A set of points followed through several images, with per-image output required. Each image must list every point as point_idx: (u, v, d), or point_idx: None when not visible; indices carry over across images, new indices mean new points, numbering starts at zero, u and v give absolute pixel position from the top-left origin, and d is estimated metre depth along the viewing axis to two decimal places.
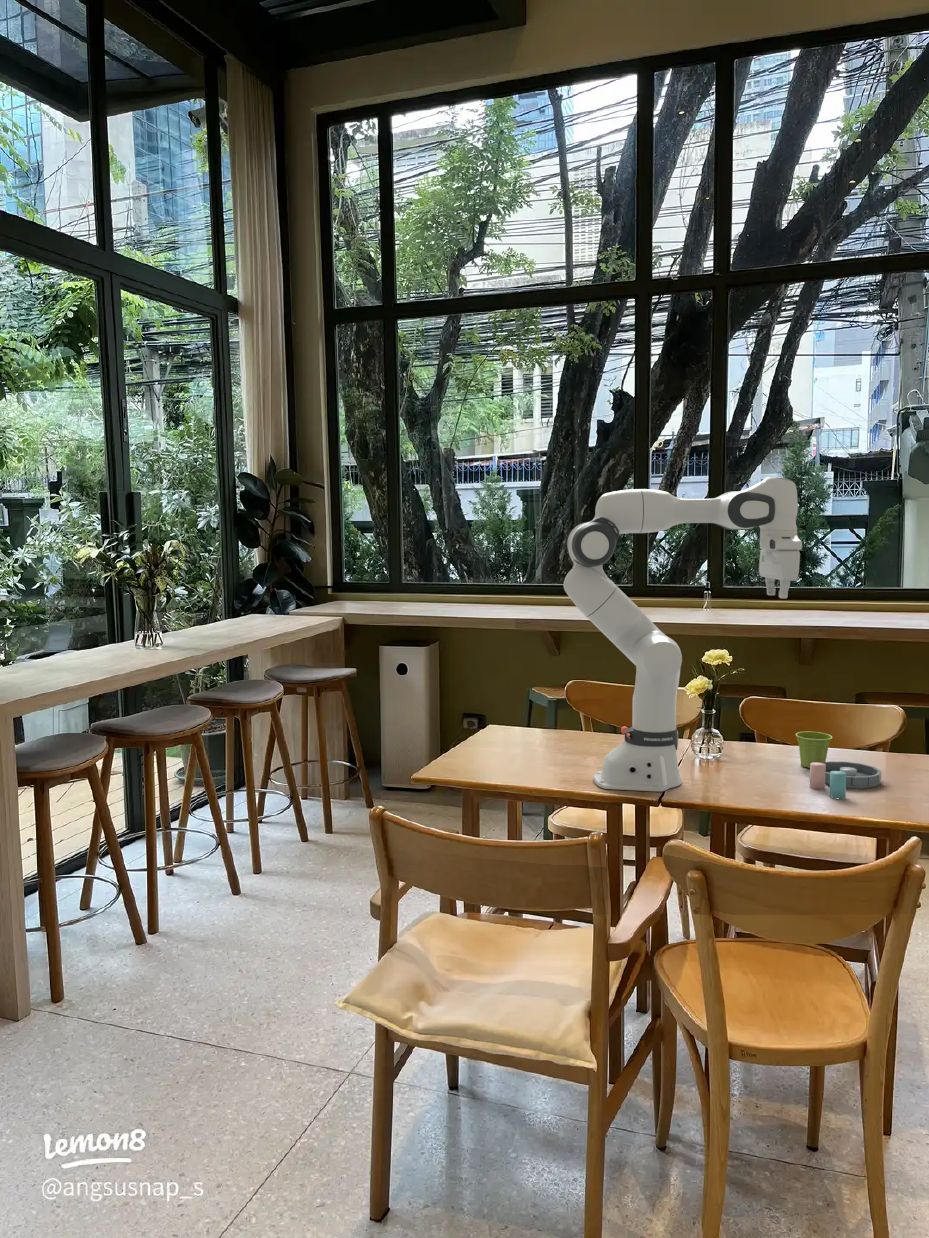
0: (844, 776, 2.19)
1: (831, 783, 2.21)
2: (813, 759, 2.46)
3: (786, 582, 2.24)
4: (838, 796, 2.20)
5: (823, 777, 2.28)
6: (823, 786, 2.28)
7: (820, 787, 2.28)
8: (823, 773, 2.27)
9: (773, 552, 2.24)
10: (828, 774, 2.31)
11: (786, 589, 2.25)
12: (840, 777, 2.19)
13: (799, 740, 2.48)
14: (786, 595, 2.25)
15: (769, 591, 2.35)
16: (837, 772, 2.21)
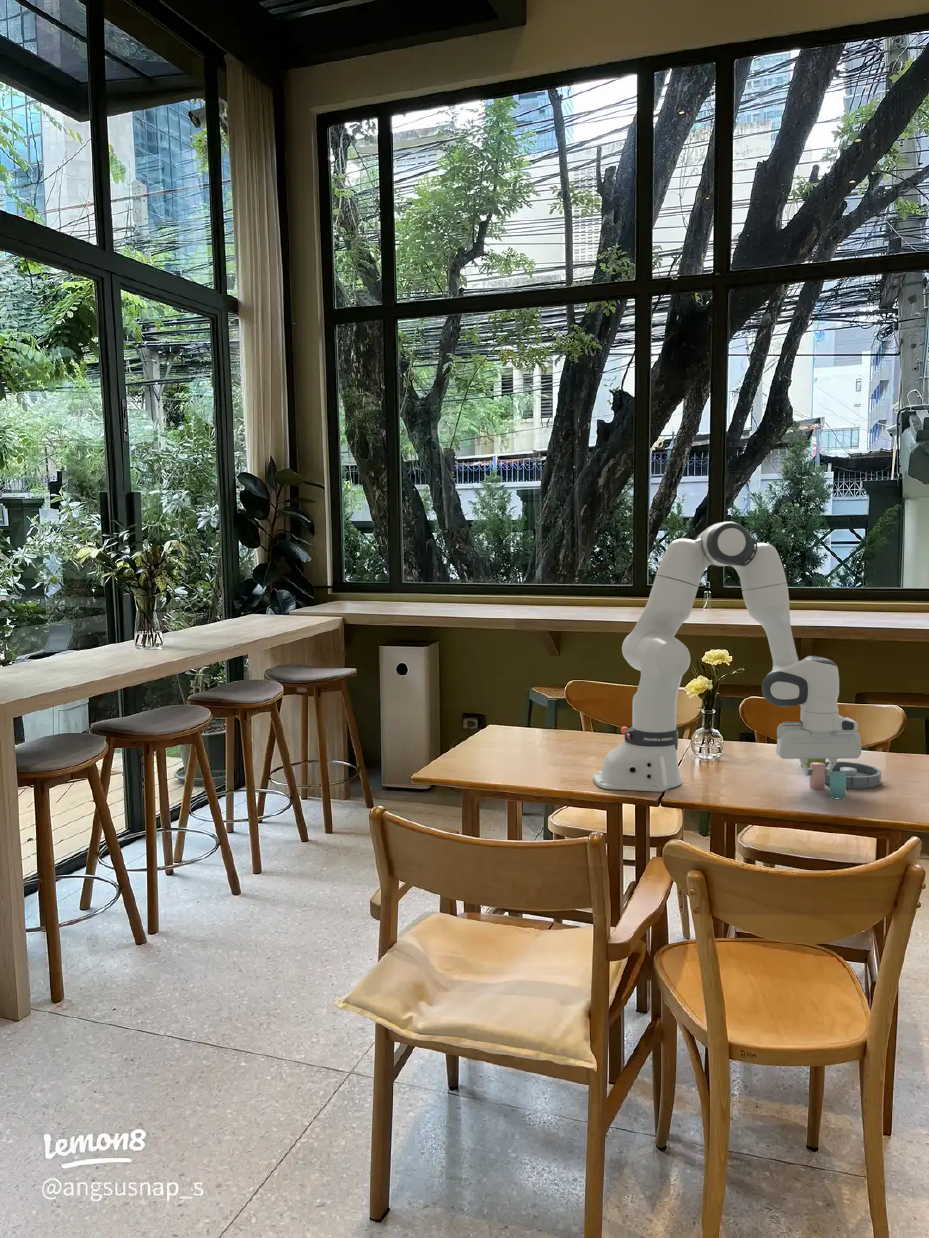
0: (844, 776, 2.19)
1: (831, 783, 2.21)
2: (813, 759, 2.46)
3: None
4: (838, 796, 2.20)
5: (823, 777, 2.28)
6: (823, 786, 2.28)
7: (820, 787, 2.28)
8: (823, 773, 2.27)
9: (844, 733, 2.25)
10: None
11: None
12: (840, 777, 2.19)
13: None
14: None
15: None
16: (837, 772, 2.21)
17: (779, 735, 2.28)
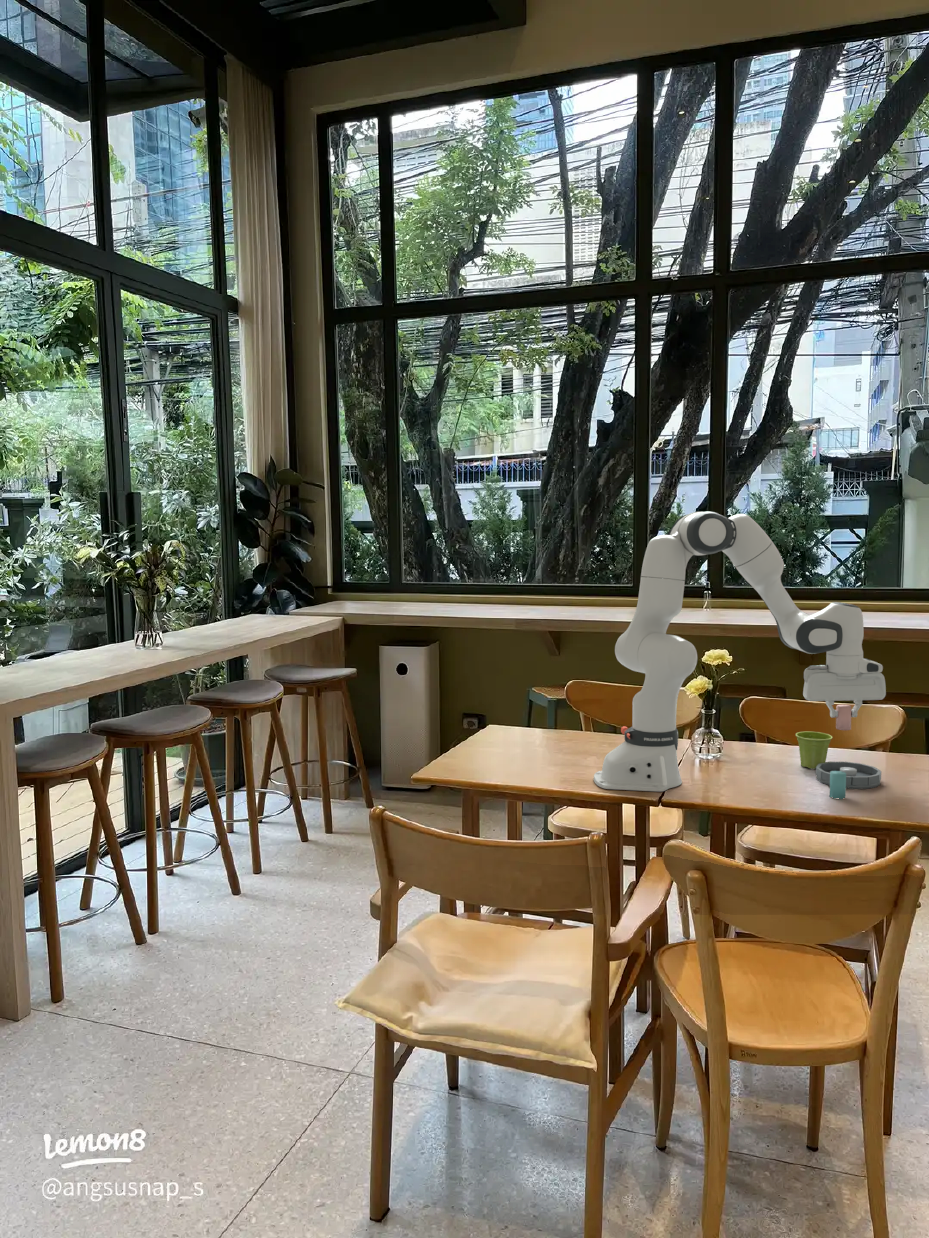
0: (844, 776, 2.19)
1: (831, 783, 2.21)
2: (813, 759, 2.46)
3: None
4: (838, 796, 2.20)
5: (849, 718, 2.36)
6: (849, 727, 2.36)
7: (846, 728, 2.36)
8: (849, 714, 2.36)
9: (869, 675, 2.33)
10: (828, 774, 2.31)
11: None
12: (840, 777, 2.19)
13: (799, 740, 2.48)
14: None
15: None
16: (837, 772, 2.21)
17: (806, 678, 2.36)
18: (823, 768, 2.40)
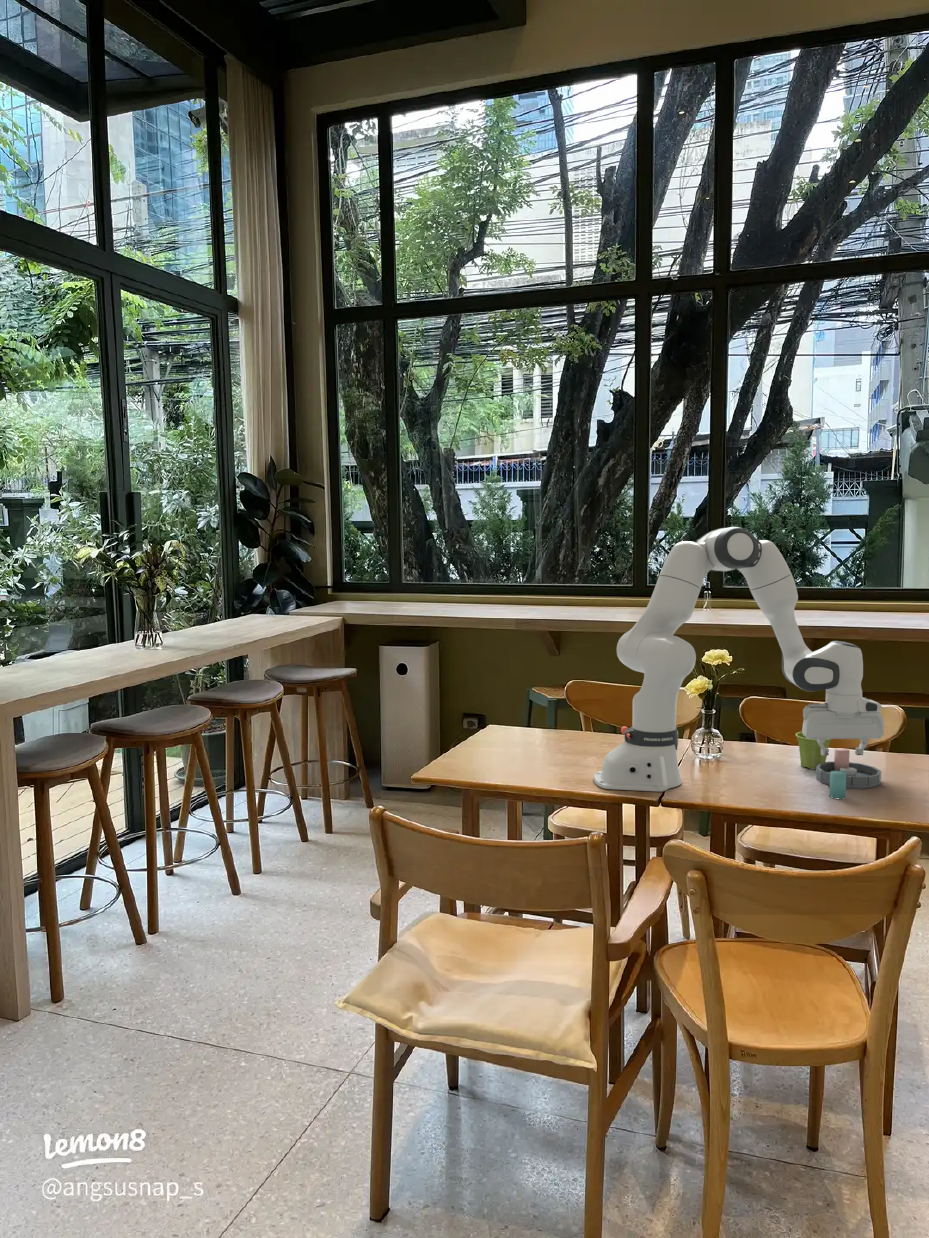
0: (844, 776, 2.19)
1: (831, 783, 2.21)
2: (813, 759, 2.46)
3: None
4: (838, 796, 2.20)
5: (847, 762, 2.38)
6: None
7: None
8: (847, 758, 2.37)
9: (867, 714, 2.35)
10: (828, 774, 2.31)
11: None
12: (840, 777, 2.19)
13: (799, 740, 2.48)
14: None
15: None
16: (837, 772, 2.21)
17: (805, 716, 2.38)
18: (823, 768, 2.40)
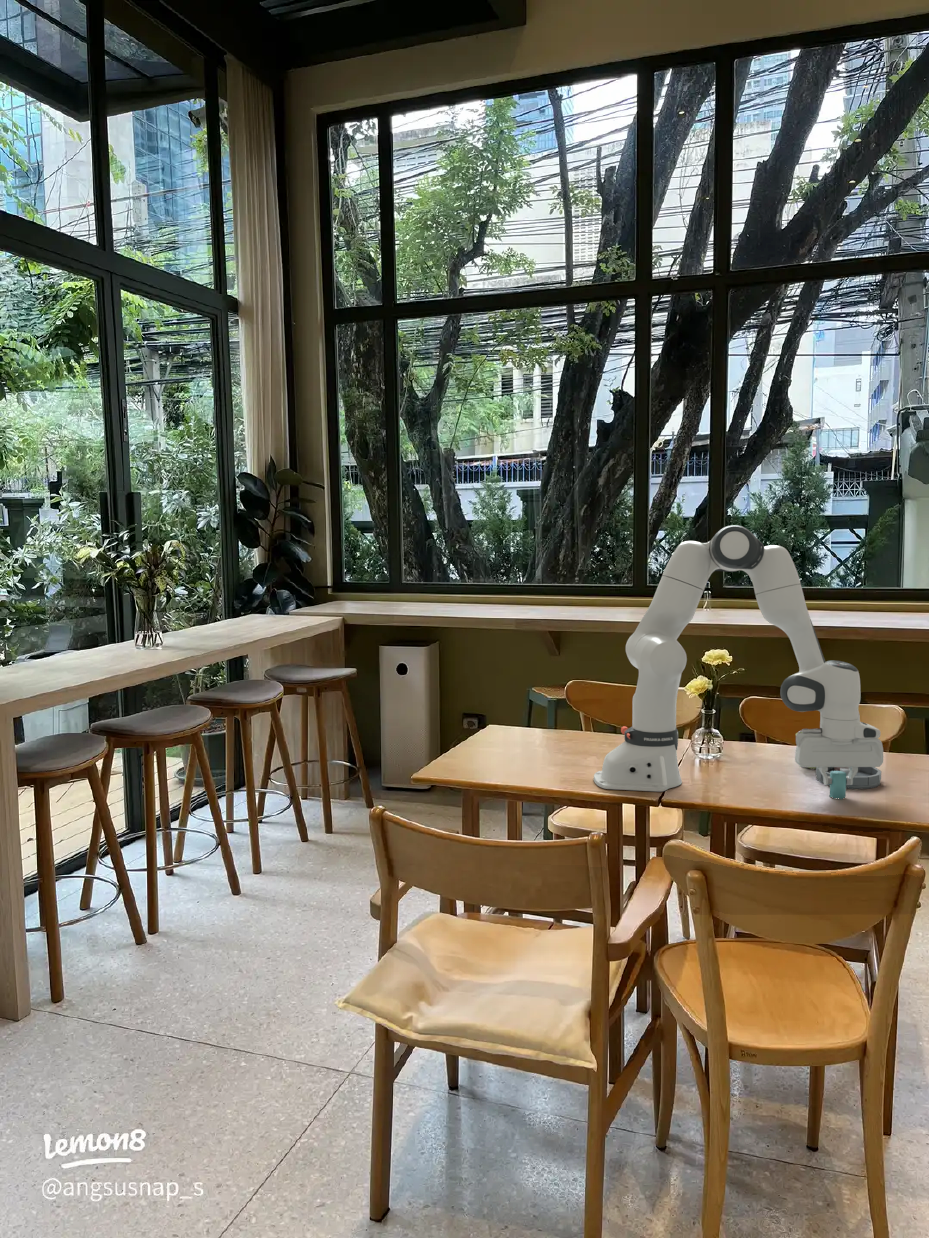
0: (844, 776, 2.19)
1: None
2: None
3: None
4: (838, 796, 2.20)
5: None
6: None
7: None
8: None
9: (865, 740, 2.17)
10: (828, 774, 2.31)
11: None
12: (840, 777, 2.19)
13: None
14: None
15: None
16: (837, 772, 2.21)
17: (798, 743, 2.20)
18: None
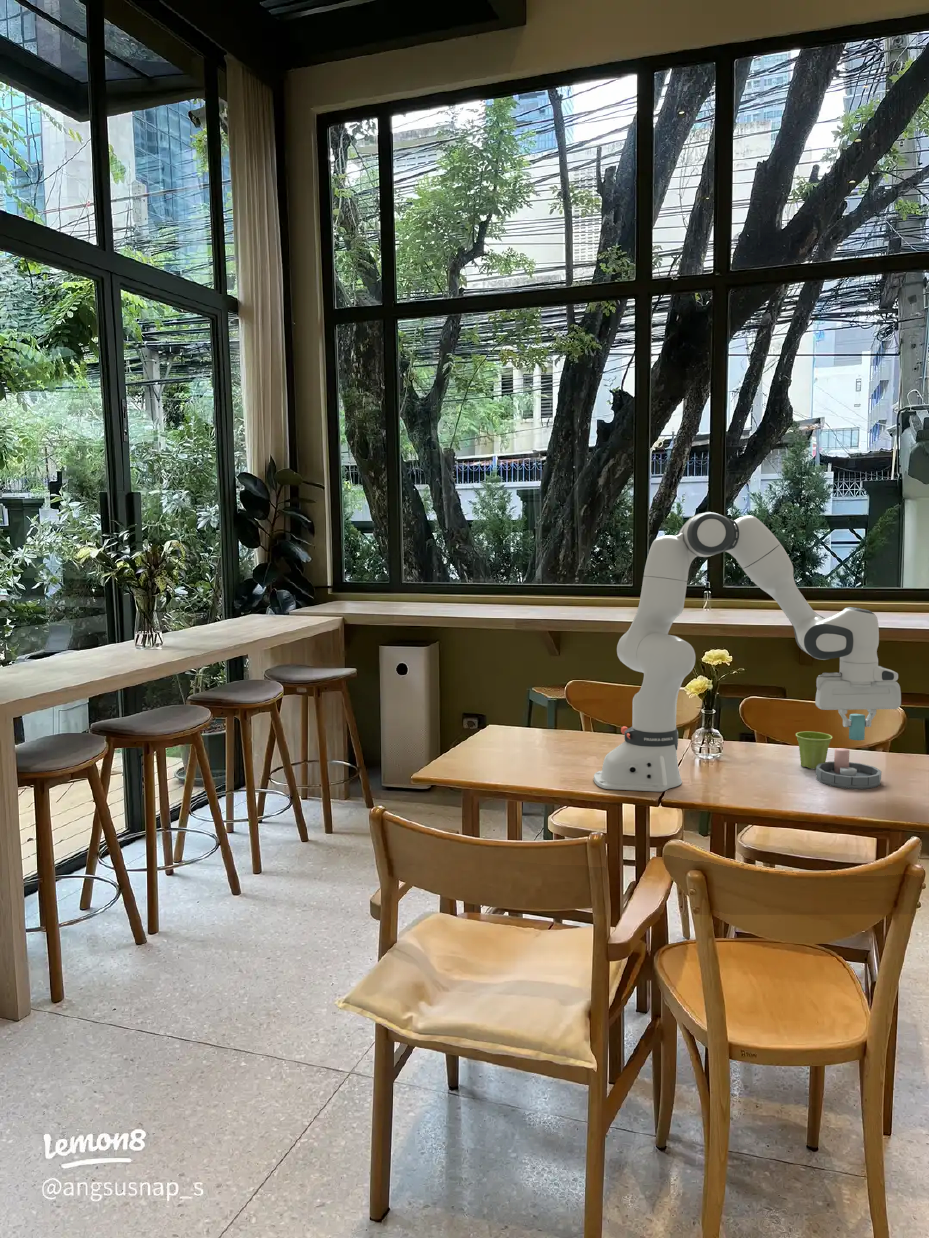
0: (863, 718, 2.27)
1: None
2: (813, 759, 2.46)
3: None
4: (857, 737, 2.28)
5: (847, 762, 2.38)
6: None
7: None
8: (847, 758, 2.37)
9: (884, 683, 2.25)
10: (828, 774, 2.31)
11: None
12: (859, 718, 2.27)
13: (799, 740, 2.48)
14: None
15: None
16: (856, 714, 2.29)
17: (818, 686, 2.28)
18: (823, 768, 2.40)
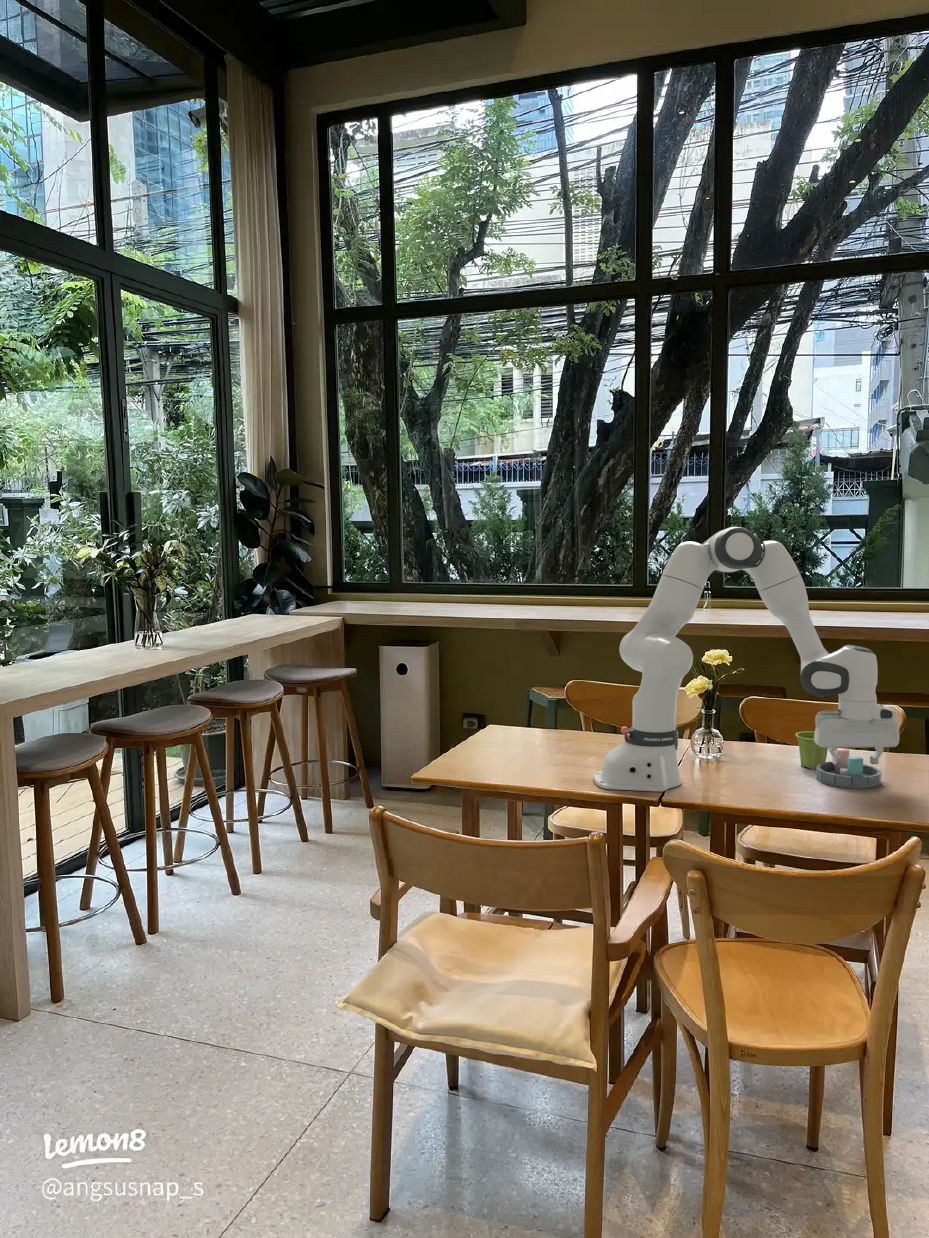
0: (861, 761, 2.29)
1: (849, 768, 2.30)
2: (813, 759, 2.46)
3: None
4: None
5: (847, 762, 2.38)
6: None
7: None
8: (847, 758, 2.37)
9: (882, 721, 2.26)
10: (828, 774, 2.31)
11: None
12: (857, 762, 2.28)
13: (799, 740, 2.48)
14: None
15: None
16: (854, 758, 2.30)
17: (817, 724, 2.29)
18: (823, 768, 2.40)
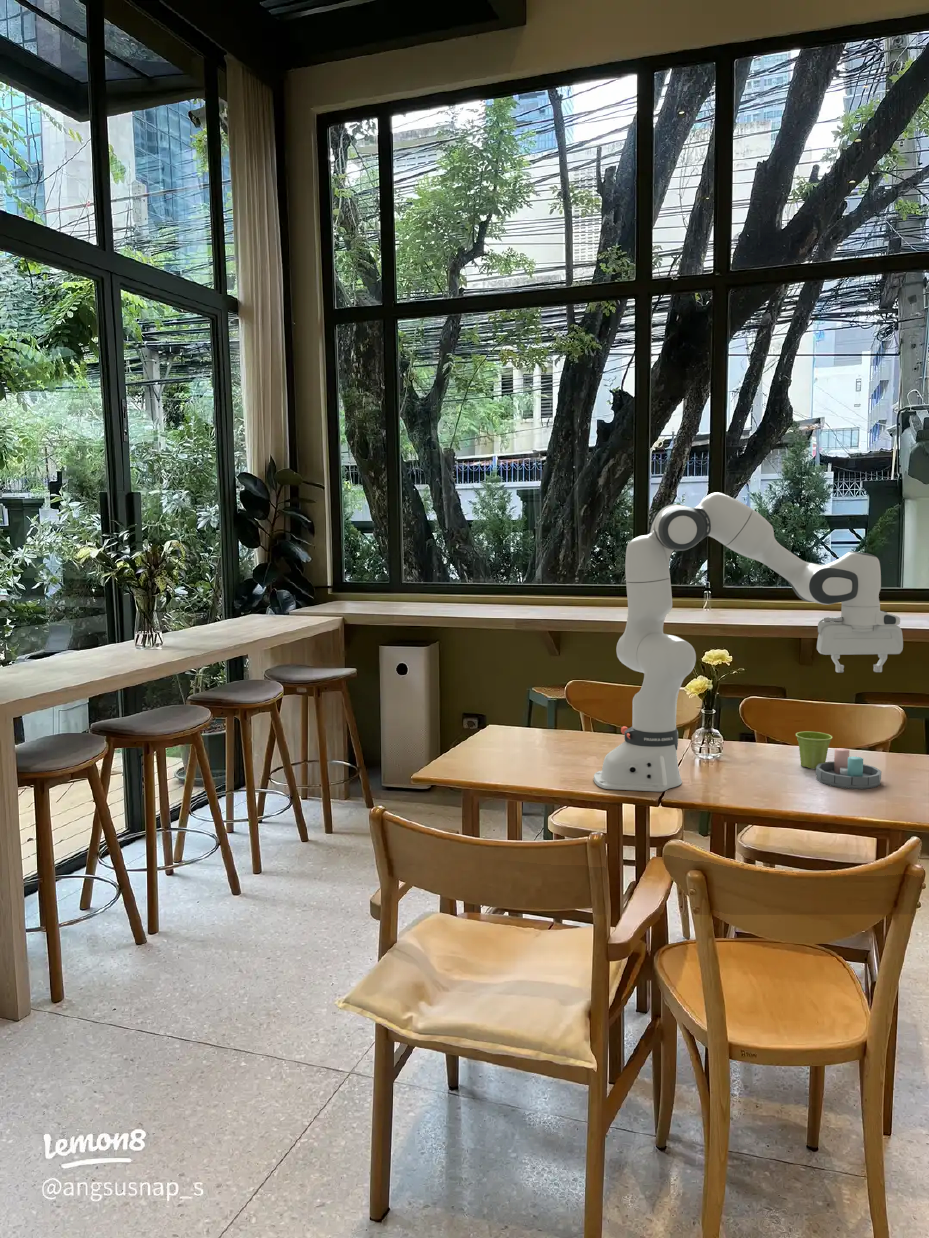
0: (861, 761, 2.29)
1: (849, 768, 2.30)
2: (813, 759, 2.46)
3: None
4: None
5: (847, 762, 2.38)
6: None
7: None
8: (847, 758, 2.37)
9: (886, 627, 2.24)
10: (828, 774, 2.31)
11: None
12: (857, 762, 2.28)
13: (799, 740, 2.48)
14: None
15: None
16: (854, 758, 2.30)
17: (820, 631, 2.27)
18: (823, 768, 2.40)
